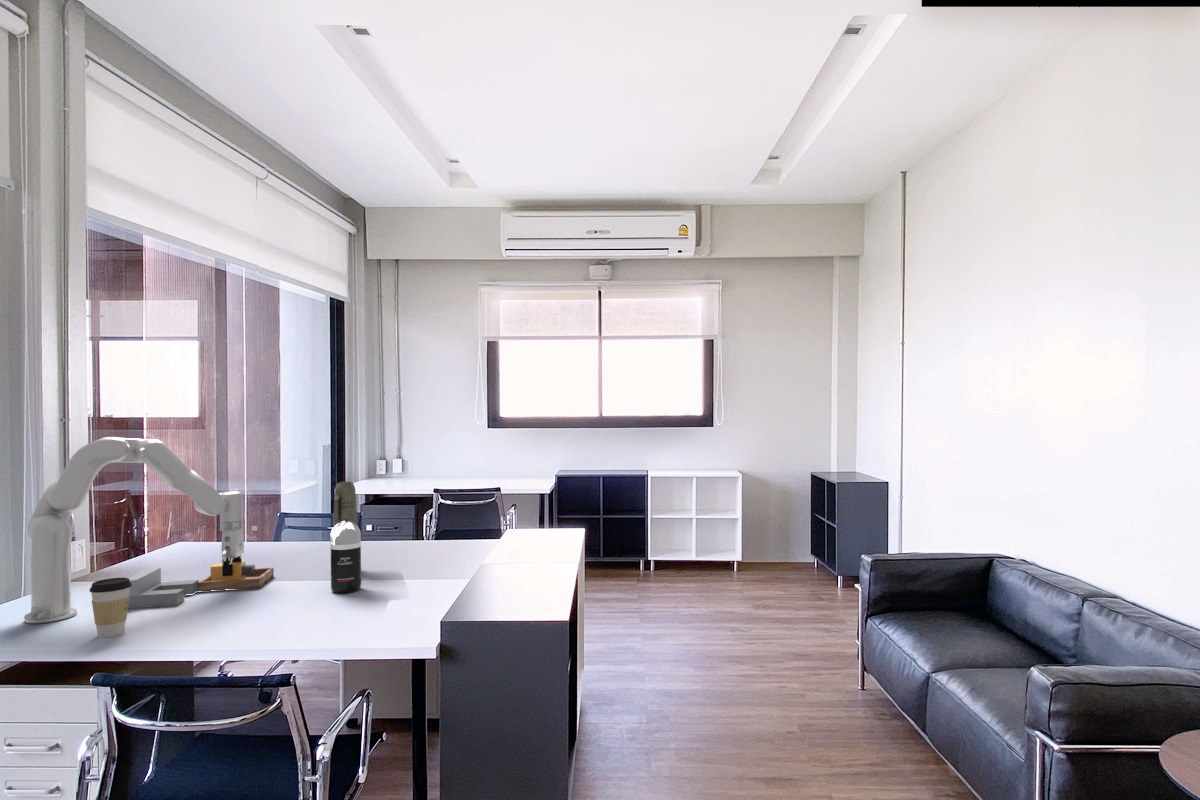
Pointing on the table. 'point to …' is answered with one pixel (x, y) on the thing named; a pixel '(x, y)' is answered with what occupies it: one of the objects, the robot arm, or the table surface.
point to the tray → (238, 581)
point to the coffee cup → (110, 605)
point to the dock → (157, 589)
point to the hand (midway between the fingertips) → (232, 572)
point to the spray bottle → (345, 557)
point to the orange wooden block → (238, 571)
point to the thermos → (344, 503)
